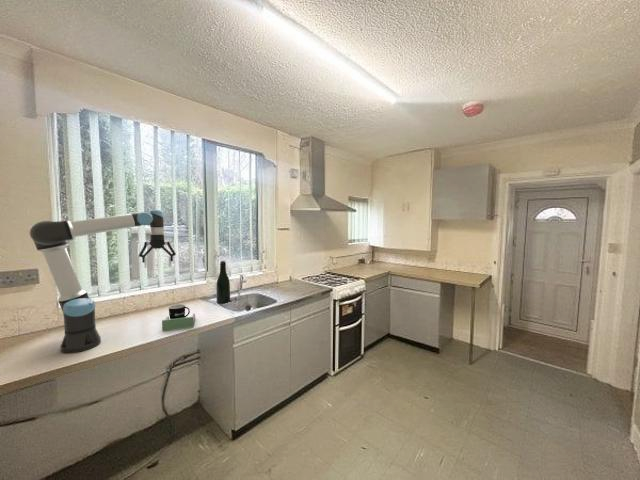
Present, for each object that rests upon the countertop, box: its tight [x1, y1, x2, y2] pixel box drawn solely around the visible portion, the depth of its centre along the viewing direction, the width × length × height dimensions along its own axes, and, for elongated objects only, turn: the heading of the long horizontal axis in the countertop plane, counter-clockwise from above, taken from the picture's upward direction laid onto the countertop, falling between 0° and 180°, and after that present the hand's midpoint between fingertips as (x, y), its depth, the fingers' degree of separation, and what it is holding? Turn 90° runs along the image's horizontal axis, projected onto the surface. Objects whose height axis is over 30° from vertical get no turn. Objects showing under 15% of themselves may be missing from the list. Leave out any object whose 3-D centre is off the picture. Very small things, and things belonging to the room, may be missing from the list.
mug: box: [168, 303, 191, 319], centre depth 163 cm, size 12×9×10 cm
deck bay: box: [161, 313, 196, 332], centre depth 162 cm, size 16×16×6 cm
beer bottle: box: [215, 260, 231, 304], centre depth 209 cm, size 10×10×33 cm
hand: (158, 267), depth 168 cm, fingers open, 13 cm apart
